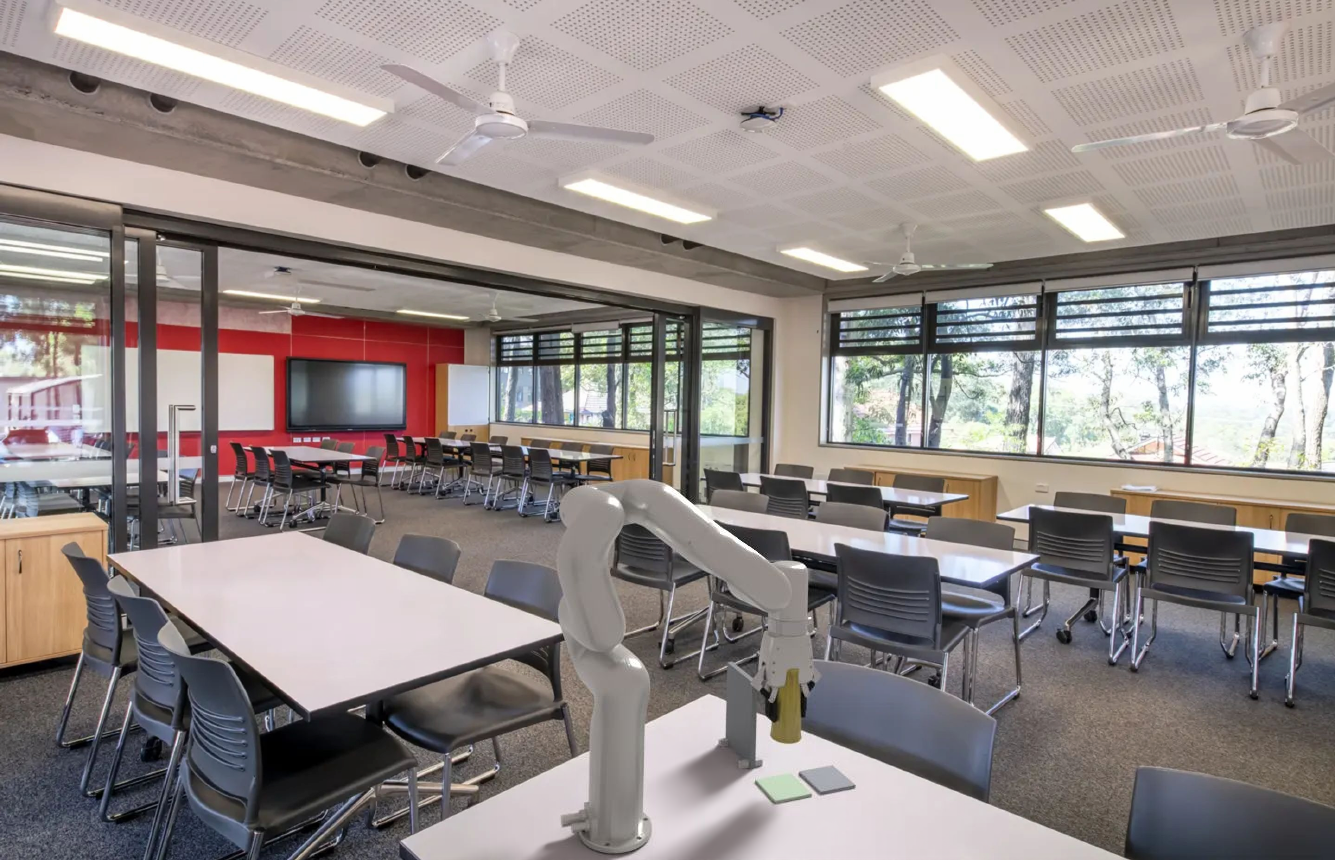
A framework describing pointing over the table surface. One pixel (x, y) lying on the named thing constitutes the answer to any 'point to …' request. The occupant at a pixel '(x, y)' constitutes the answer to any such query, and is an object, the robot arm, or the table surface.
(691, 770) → the table surface
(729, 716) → the screen
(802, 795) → the pad sage
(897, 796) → the table surface
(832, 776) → the pad slate
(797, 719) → the vase
